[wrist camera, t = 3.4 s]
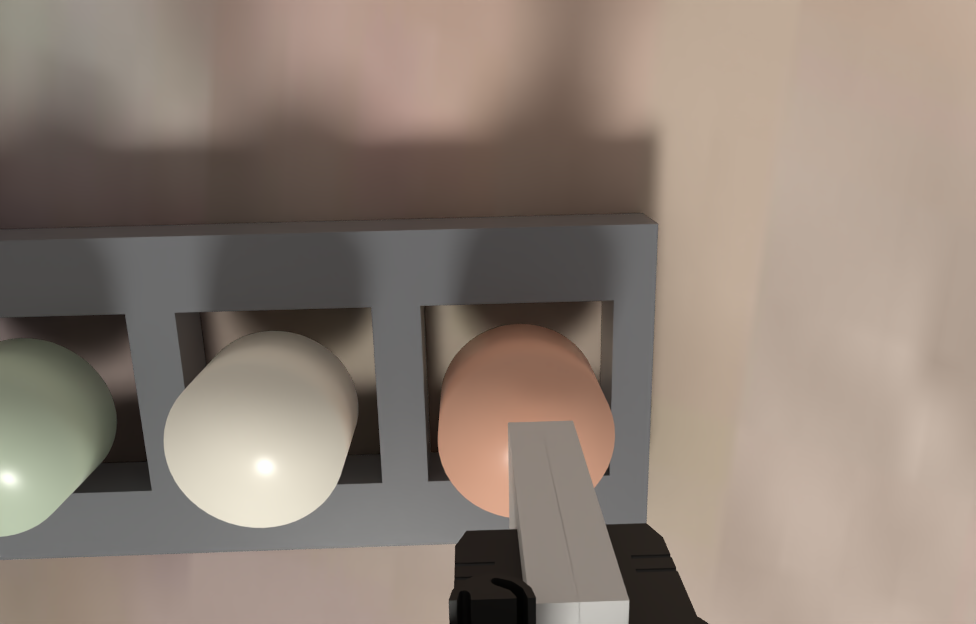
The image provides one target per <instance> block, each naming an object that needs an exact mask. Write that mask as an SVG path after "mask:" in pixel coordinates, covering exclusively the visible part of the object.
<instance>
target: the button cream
mask: <svg viewBox="0 0 976 624" xmlns="http://www.w3.org/2000/svg"><path fill="white" fill-rule="evenodd" d="M357 420H358V397H357V392H356V389H355V385H354V383H353V381H352V378H351V376H350V374H349V373H348V371H347V369H346V368H345V366H344V365H343V364H342V363H341V361H340V360H339V359H338V358H337V357H336V356H335V355H334V354H333V353H332V352H331V351H330V350H328V349H327V348H326V347H324V346H323V345H321V344H319V343H318V342H316V341H314V340H312V339H310V338H307V337H305V336H302V335H299V334H295V333H291V332H285V331H264V332H258V333H253V334H249V335H247V336H244V337H241V338H239V339H237V340H235V341H233V342H232V343H230V344H229V345H227V346H226V347H225V348H223V349H222V350H221V351H220V352H219V353H218V354H217V355H216V356H215V357H214V358H213V359H212V360H211V361H210V363H209V364H208V365H207V366H206V367H205V368H204V369H203V370H202V371H201V372H200V373H199V374H198V375H197V377H196V378H195V379H194V380H193V381H192V382H191V383H190V384H189V385H188V386H187V387H186V388H185V389H184V391H183V392H182V393H181V394H180V395H179V397H178V398H177V399H176V401H175V403H174V404H173V406H172V408H171V410H170V412H169V415H168V417H167V420H166V425H165V429H164V452H165V457H166V461H167V464H168V467H169V470H170V473H171V474H172V476H173V478H174V480H175V482H176V483H177V485H178V486H179V488H180V489H181V491H182V492H183V493H184V494H185V495H186V496H187V497H188V498H189V499H190V500H191V501H192V502H193V503H194V504H195V505H196V506H198V507H199V508H200V509H202V510H203V511H205V512H206V513H208V514H210V515H212V516H213V517H215V518H217V519H220V520H222V521H225V522H227V523H231V524H234V525H238V526H244V527H251V528H268V527H277V526H281V525H286V524H289V523H292V522H295V521H297V520H299V519H301V518H303V517H305V516H307V515H309V514H310V513H312V512H313V511H315V510H316V509H317V508H318V507H319V506H320V505H322V504H323V503H324V502H325V500H326V499H327V498H328V497H329V496H330V494H331V493H332V491H333V490H334V488H335V487H336V485H337V483H338V480H339V478H340V476H341V473H342V469H343V466H344V463H345V460H346V457H347V454H348V450H349V447H350V444H351V441H352V438H353V435H354V431H355V428H356V425H357Z"/></svg>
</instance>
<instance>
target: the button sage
mask: <svg viewBox="0 0 976 624" xmlns="http://www.w3.org/2000/svg"><path fill="white" fill-rule="evenodd" d="M116 428H117V417H116V409H115V405H114V401H113V398H112V396H111V393H110V391H109V389H108V387H107V385H106V383H105V382H104V381H103V379H102V378H101V376H100V375H99V374H98V373H97V371H96V370H95V369H94V368H93V367H92V366H91V365H90V364H89V363H88V362H86V361H85V360H84V359H83V358H81V357H80V356H79V355H77V354H76V353H74V352H72V351H70V350H69V349H67V348H65V347H63V346H60V345H58V344H55V343H52V342H48V341H45V340H40V339H33V338H15V339H8V340H3V341H0V537H3V536H10V535H14V534H19V533H21V532H24V531H27V530H29V529H31V528H33V527H35V526H37V525H39V524H40V523H42V522H43V521H45V520H46V519H47V518H48V517H49V516H50V515H51V514H52V513H53V512H54V511H55V510H56V509H57V508H58V507H59V506H60V505H61V504H62V503H63V502H64V501H65V500H66V499H67V498H68V497H69V496H70V495H71V494H72V493H73V492H74V491H75V490H76V489H77V488H78V487H79V486H80V485H81V483H82V482H83V481H84V480H85V479H86V478H87V477H88V476H89V475H90V474H91V473H92V472H93V471H94V470H95V469H96V468H97V467H98V466H99V465H100V464H101V463H102V461H103V460H104V459H105V458H106V456H107V455H108V453H109V451H110V449H111V447H112V445H113V442H114V439H115V434H116Z"/></svg>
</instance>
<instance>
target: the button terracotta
mask: <svg viewBox="0 0 976 624" xmlns="http://www.w3.org/2000/svg"><path fill="white" fill-rule="evenodd" d="M542 421H573V423H574V426H575V429H576V432H577V435H578V438H579V442H580V445H581V448H582V451H583V454H584V458H585V461H586V464H587V467H588V470H589V473H590V477H591V480H592V483H593V486H594V488H595V487H596V485H597V484H598V483H599V481H600V480H601V479H602V477H603V475H604V474H605V472H606V470H607V468H608V466H609V463H610V461H611V458H612V454H613V450H614V443H615V426H614V421H613V416H612V413H611V410H610V407H609V404H608V402H607V400H606V398H605V396H604V394H603V391H602V389H601V387H600V385H599V383H598V381H597V378H596V376H595V374H594V372H593V370H592V368H591V366H590V364H589V362H588V360H587V358H586V357H585V356H584V354H583V353H582V351H581V350H580V349H579V348H578V347H577V346H576V345H575V344H574V343H573V342H571V341H570V340H569V339H568V338H566V337H565V336H563V335H561V334H560V333H558V332H556V331H553V330H551V329H549V328H545V327H542V326H538V325H532V324H510V325H504V326H500V327H496V328H493V329H490V330H488V331H486V332H484V333H482V334H480V335H478V336H476V337H475V338H473V339H472V340H470V341H469V342H468V343H467V344H466V345H465V346H464V347H462V348H461V350H460V351H459V352H458V353H457V354H456V355H455V357H454V358H453V360H452V361H451V363H450V365H449V367H448V369H447V371H446V373H445V376H444V379H443V383H442V389H441V399H440V413H439V427H438V449H439V455H440V459H441V463H442V465H443V468H444V470H445V473H446V474H447V476H448V478H449V480H450V481H451V483H452V484H453V485H454V487H455V488H456V489H457V490H458V491H459V492H460V493H461V494H462V495H463V496H464V497H465V498H466V499H467V500H469V501H470V502H472V503H473V504H474V505H476V506H478V507H480V508H481V509H483V510H485V511H488V512H490V513H493V514H496V515H500V516H503V517H509V465H508V422H542Z"/></svg>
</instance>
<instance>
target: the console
mask: <svg viewBox="0 0 976 624" xmlns="http://www.w3.org/2000/svg"><path fill="white" fill-rule="evenodd" d="M657 239H658V223H656V222H655V221H653V220H652V219H650V218H649V217H647V216H646V215H644V214H643V213H628V214H588V215H549V216H510V217H470V218H431V219H391V220H352V221H312V222H273V223H233V224H194V225H155V226H115V227H76V228H36V229H0V318H4V317H40V316H76V315H111V314H125V318H126V324H127V331H128V337H129V344H130V350H131V357H132V363H133V370H134V376H135V383H136V389H137V396H138V403H139V409H140V416H141V422H142V429H143V435H144V442H145V448H146V455H147V461H148V462H126V463H101V464H100V465H99V466H98V467H97V468H96V469H95V470H94V471H93V472H92V473H91V474H90V475H89V476H88V477H87V478H86V479H85V480H84V481H83V482H82V483H81V485H80V486H79V487H78V488H77V489H76V490H75V491H74V492H73V493H72V494H71V495H70V496H69V497H68V498H67V499H66V500H65V501H64V502H63V503H62V504H61V505H60V506H59V507H58V508H57V509H56V510H55V511H54V512H53V513H52V514H51V515H50V516H49V517H48V518H47V519H46V520H45V521H43V522H42V523H40V524H39V525H37V526H35V527H33V528H31V529H29V530H27V531H24V532H21V533H19V534H14V535H10V536H3V537H0V560H11V559H40V558H68V557H96V556H124V555H153V554H181V553H209V552H237V551H266V550H294V549H322V548H351V547H379V546H407V545H435V544H457V543H458V542H459V540H460V539H461V537H462V536H463V535H464V533H465V532H466V531H472V530H504V529H510V528H509V517H503V516H500V515H496V514H493V513H490V512H488V511H485V510H483V509H481V508H480V507H478V506H476V505H474V504H473V503H472V502H470V501H469V500H467V499H466V498H465V497H464V496H463V495H462V494H461V493H460V492H459V491H458V490H457V489H456V488H455V487H454V485H453V484H452V483H451V481H450V480H449V478H448V476H447V474H446V473H445V470H444V468H443V465H442V463H441V459H440V455H439V452H433V453H431V448H430V425H429V403H428V380H427V358H426V335H425V313H424V306H432V305H468V304H504V303H539V302H575V301H602V315H601V365H600V387H601V389H602V391H603V394H604V396H605V398H606V400H607V402H608V404H609V407H610V410H611V413H612V416H613V421H614V426H615V443H614V450H613V454H612V458H611V461H610V463H609V466H608V468H607V470H606V472H605V474H604V475H603V477H602V479H601V480H600V481H599V483H598V484H597V485H596V487H595V488H594V489H595V493H596V496H597V499H598V502H599V505H600V509H601V512H602V515H603V518H604V521H605V524H634V523H646V521H647V495H648V470H649V444H650V418H651V393H652V367H653V341H654V316H655V290H656V265H657ZM361 307H371V311H372V327H373V342H374V358H375V374H376V389H377V405H378V421H379V437H380V452H381V454H372V455H347V457H346V460H345V463H344V466H343V469H342V473H341V476H340V478H339V480H338V483H337V485H336V487H335V488H334V490H333V491H332V493H331V494H330V496H329V497H328V498H327V499H326V500H325V502H324V503H323V504H322V505H320V506H319V507H318V508H317V509H316V510H315V511H313V512H312V513H310V514H309V515H307V516H305V517H303V518H301V519H299V520H297V521H295V522H292V523H289V524H286V525H281V526H277V527H268V528H251V527H244V526H238V525H234V524H231V523H227V522H225V521H222V520H220V519H217V518H215V517H213V516H212V515H210V514H208V513H206V512H205V511H203V510H202V509H200V508H199V507H198V506H196V505H195V504H194V503H193V502H192V501H191V500H190V499H189V498H188V497H187V496H186V495H185V494H184V493H183V492H182V491H181V489H180V488H179V486H178V485H177V483H176V482H175V480H174V478H173V476H172V474H171V473H170V470H169V467H168V464H167V461H166V457H165V452H164V429H165V425H166V420H167V417H168V415H169V412H170V410H171V408H172V406H173V404H174V403H175V401H176V399H177V398H178V397H179V395H180V394H181V393H182V392H183V391H184V389H185V388H186V387H187V386H188V385H189V384H190V383H191V382H192V381H193V380H194V379H195V378H196V377H197V375H198V374H199V373H200V372H201V371H202V370H203V369H204V368H205V367H206V360H205V352H204V344H203V336H202V328H201V320H200V313H199V312H218V311H254V310H290V309H325V308H361Z"/></svg>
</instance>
